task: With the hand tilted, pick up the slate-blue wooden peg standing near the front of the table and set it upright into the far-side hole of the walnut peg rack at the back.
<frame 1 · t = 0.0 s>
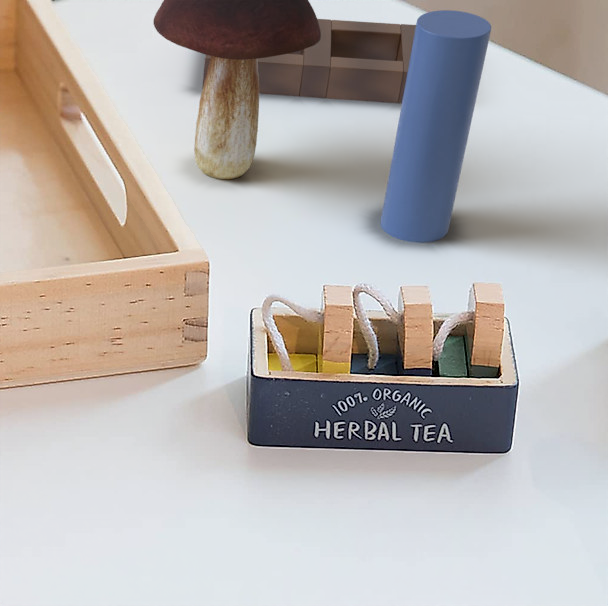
decorative mushroom: (221, 180, 107), on the table
peg: (412, 233, 101), on the table
rack: (312, 79, 120), on the table
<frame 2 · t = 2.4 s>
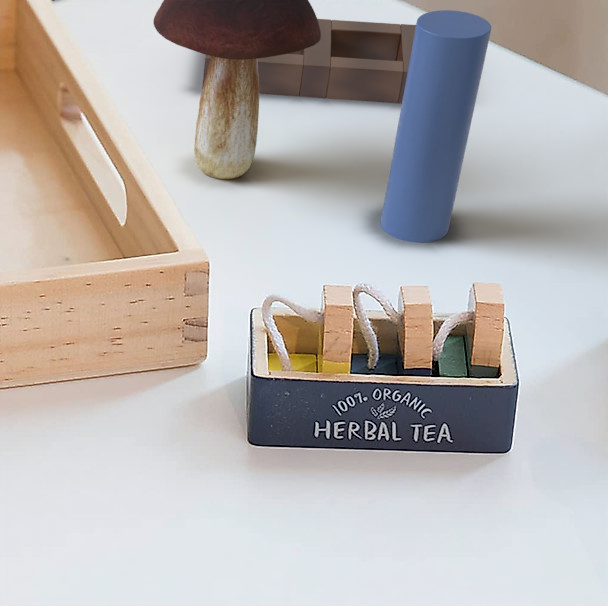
nothing on the table moved.
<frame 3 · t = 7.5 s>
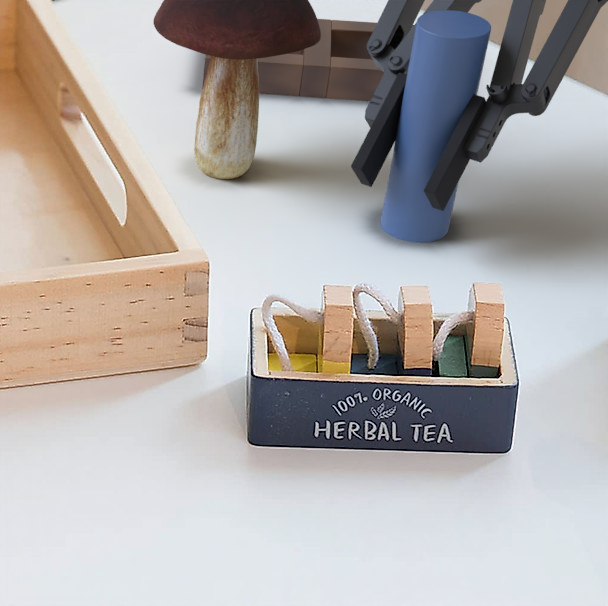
hand: (397, 188, 96), 5 cm above the table, tool tilted 45°, fingers closed on peg, 4 cm apart
peg: (412, 233, 101), on the table, touching gripper
everything else where it was.
when the fingers open (5 cm above the table, at t = 19.5 s): peg stays where it is, resting in rack.
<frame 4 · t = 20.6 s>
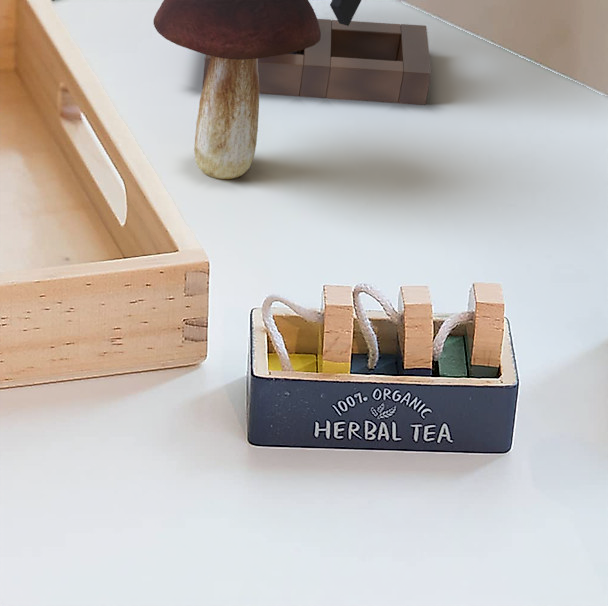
peg: (265, 75, 120), resting in rack
everything else where it was.
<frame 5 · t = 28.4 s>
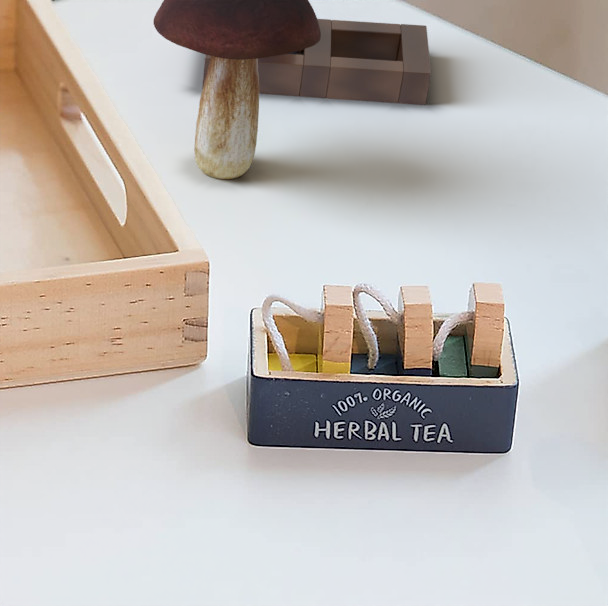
nothing on the table moved.
at the end: peg 0.1 cm from the target spot in the rack, point 0.0 cm above the rack's base; peg tilted 0° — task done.
